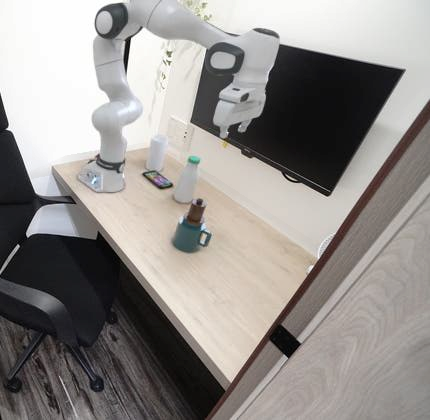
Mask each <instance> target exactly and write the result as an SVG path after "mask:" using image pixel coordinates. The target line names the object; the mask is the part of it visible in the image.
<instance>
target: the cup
mask: <svg viewBox="0 0 430 420" xmlns="http://www.w3.org/2000/svg"><path fill="white" fill-rule="evenodd" d="M169 141H170V138H169V137H168V136H166V135H163V134H154V135H152V136H151V138H150V143H149V147H148V152H147V158H146V162H145V169H147V170H148V171H153V170H155V171H157V172H161V171H162V170H163V167H164V164H165V163H164V162H165V159H166V153H167V150H168V146H169V143H170V142H169Z"/></svg>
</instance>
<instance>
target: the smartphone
mask: <svg viewBox="0 0 430 420" xmlns="http://www.w3.org/2000/svg"><path fill="white" fill-rule="evenodd" d="M142 175H143V176H144V177H145V178H146V179H147V180H149V181H150V182H151V183H152V184H154V185H155V186H156V187H157V188H159V189H160V190H164V189H169V188H172V187H173V186H174V183H173V182H171V181H170V180H169V179H168V178H166V177H165V176H164V175H163V174H161V173H160V172H159V171H155V170H153V171H150V170H148V171H144V172H142Z"/></svg>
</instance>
